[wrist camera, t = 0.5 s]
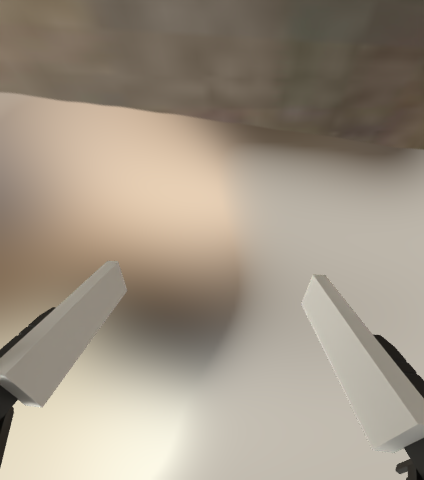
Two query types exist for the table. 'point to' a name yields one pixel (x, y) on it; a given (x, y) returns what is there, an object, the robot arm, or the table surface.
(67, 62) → the table surface
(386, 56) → the table surface
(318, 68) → the table surface
